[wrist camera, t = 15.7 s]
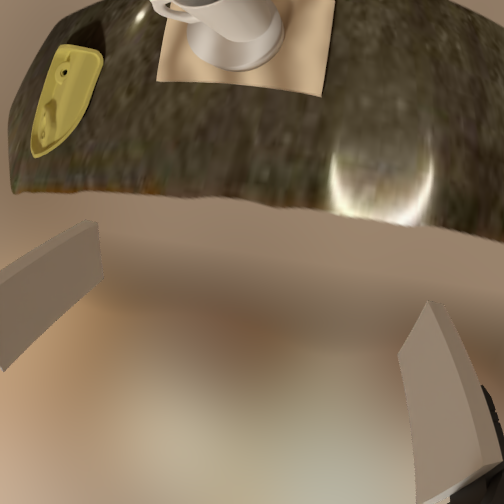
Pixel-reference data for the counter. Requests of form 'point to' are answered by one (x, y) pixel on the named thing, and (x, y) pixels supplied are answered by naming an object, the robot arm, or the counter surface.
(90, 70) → the plastic component
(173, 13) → the mug
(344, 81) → the counter surface
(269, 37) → the board with round cheese
